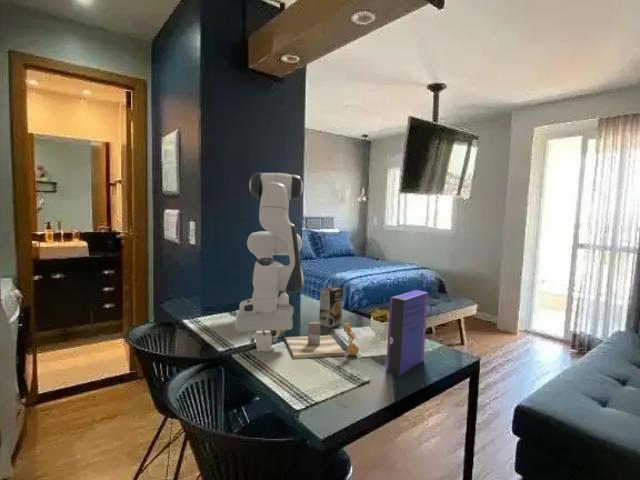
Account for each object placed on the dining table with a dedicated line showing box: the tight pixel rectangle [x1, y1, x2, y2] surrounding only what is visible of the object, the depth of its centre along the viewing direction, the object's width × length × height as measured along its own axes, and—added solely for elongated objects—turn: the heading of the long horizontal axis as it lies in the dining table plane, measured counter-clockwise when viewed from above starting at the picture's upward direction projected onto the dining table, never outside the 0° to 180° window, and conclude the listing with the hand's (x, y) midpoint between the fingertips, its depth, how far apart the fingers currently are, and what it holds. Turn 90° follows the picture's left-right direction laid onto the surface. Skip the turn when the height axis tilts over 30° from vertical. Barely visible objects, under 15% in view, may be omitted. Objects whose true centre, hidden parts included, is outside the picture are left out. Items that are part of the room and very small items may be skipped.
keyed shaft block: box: [284, 321, 346, 359], centre depth 139 cm, size 18×18×9 cm
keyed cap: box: [255, 331, 273, 353], centre depth 137 cm, size 7×5×6 cm
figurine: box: [342, 321, 360, 356], centre depth 133 cm, size 8×6×12 cm
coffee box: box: [318, 286, 344, 329], centre depth 169 cm, size 9×6×16 cm
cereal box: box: [385, 289, 429, 377], centre depth 126 cm, size 17×5×24 cm, turn 141°
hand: (263, 342), depth 137 cm, fingers open, 7 cm apart
